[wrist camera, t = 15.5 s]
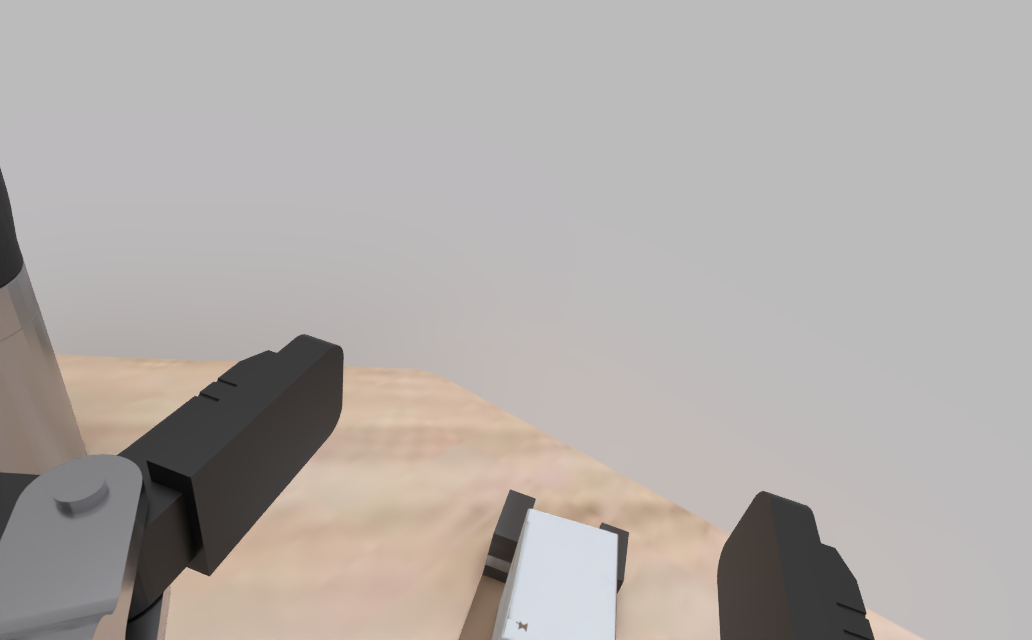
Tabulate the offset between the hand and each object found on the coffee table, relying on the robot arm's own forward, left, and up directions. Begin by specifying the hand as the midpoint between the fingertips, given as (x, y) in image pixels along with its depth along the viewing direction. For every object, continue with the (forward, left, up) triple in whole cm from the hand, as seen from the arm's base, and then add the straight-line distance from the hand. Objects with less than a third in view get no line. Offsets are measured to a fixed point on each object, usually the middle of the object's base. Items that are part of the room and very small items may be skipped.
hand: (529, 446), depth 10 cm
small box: (+3, +10, -29) cm, 31 cm away
